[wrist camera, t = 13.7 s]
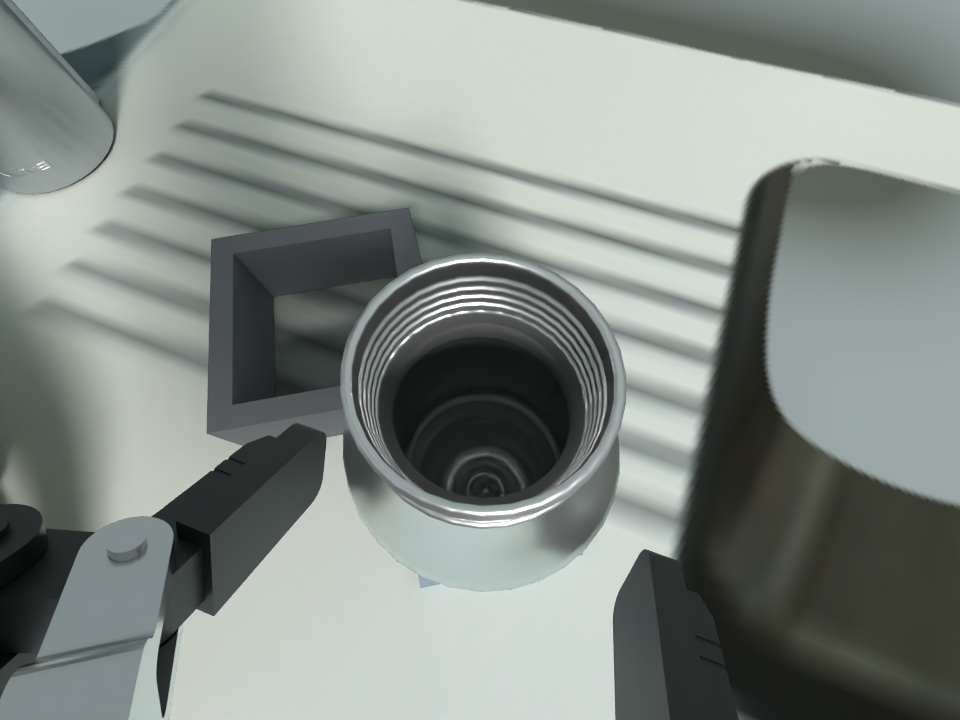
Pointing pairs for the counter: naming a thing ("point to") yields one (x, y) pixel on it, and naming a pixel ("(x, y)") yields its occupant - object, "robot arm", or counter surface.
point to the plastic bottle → (482, 420)
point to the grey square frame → (250, 322)
